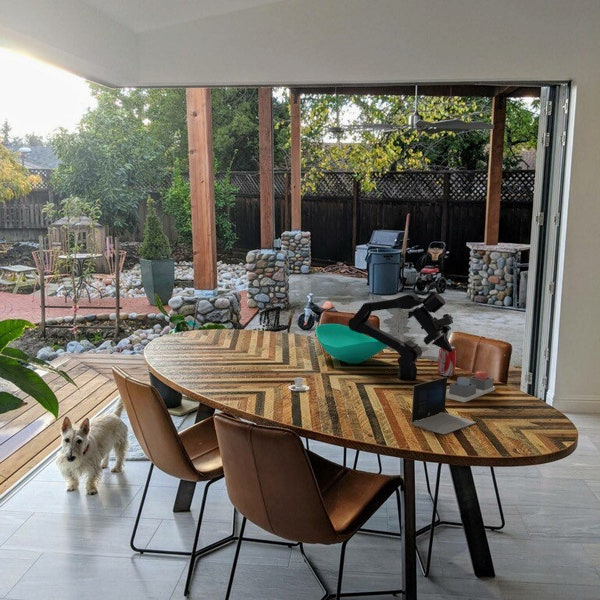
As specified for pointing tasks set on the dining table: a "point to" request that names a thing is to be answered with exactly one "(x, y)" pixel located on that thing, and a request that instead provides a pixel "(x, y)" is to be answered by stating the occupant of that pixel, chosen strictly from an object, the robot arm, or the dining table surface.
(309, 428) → the dining table surface
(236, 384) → the dining table surface
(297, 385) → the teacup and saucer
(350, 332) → the table top decor
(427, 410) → the laptop
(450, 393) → the button panel
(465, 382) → the slate button
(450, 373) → the soda can
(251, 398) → the dining table surface
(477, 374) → the red button
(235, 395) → the dining table surface
